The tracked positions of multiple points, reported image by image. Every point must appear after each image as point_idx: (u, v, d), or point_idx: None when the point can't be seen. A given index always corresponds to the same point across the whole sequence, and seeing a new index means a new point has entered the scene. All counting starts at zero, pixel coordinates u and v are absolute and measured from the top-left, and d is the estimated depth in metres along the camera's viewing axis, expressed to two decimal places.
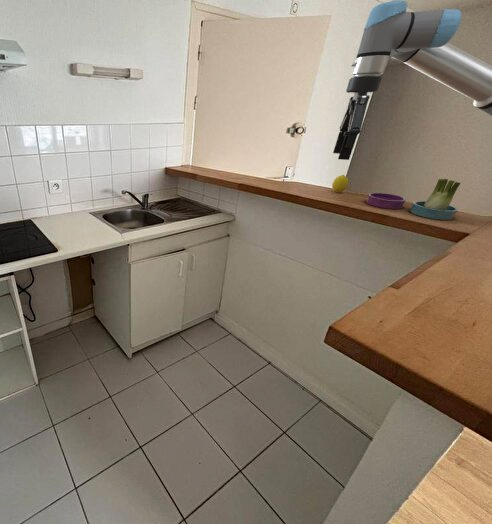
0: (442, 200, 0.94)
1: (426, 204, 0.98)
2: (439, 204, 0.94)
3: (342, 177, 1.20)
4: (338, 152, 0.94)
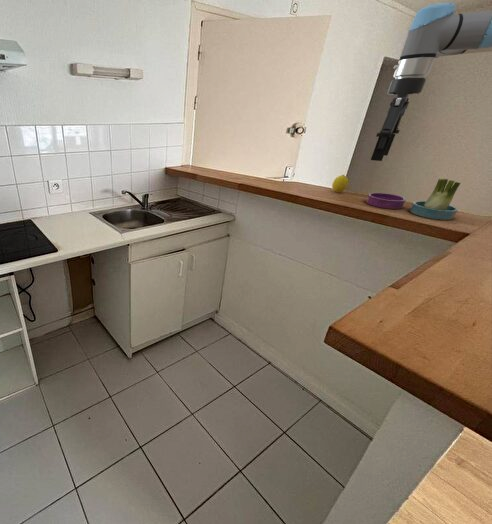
0: (442, 200, 0.94)
1: (426, 204, 0.98)
2: (439, 204, 0.94)
3: (342, 177, 1.20)
4: None
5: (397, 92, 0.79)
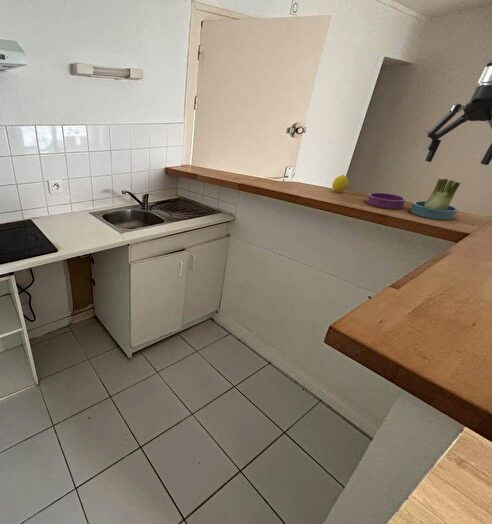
0: (442, 200, 0.94)
1: (426, 204, 0.98)
2: (439, 204, 0.94)
3: (342, 177, 1.20)
4: (483, 163, 0.87)
5: None
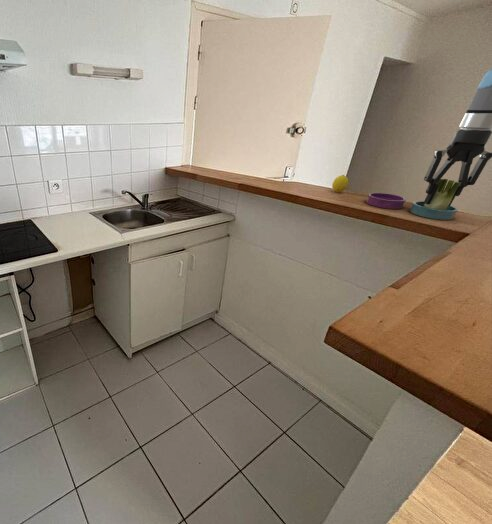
0: (442, 200, 0.94)
1: (426, 204, 0.98)
2: (439, 204, 0.94)
3: (342, 177, 1.20)
4: None
5: None
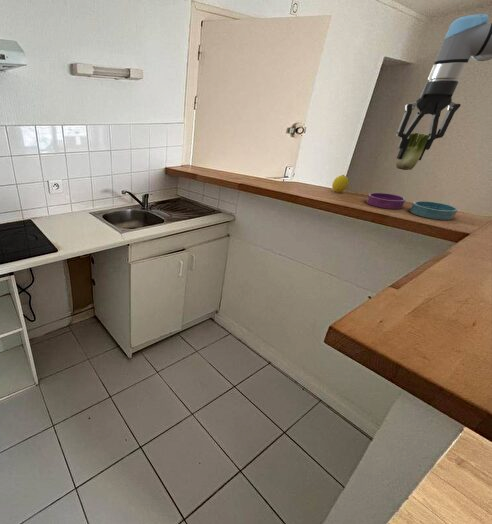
0: (413, 154, 0.97)
1: (398, 160, 1.01)
2: (410, 158, 0.97)
3: (342, 177, 1.20)
4: None
5: (421, 94, 0.92)
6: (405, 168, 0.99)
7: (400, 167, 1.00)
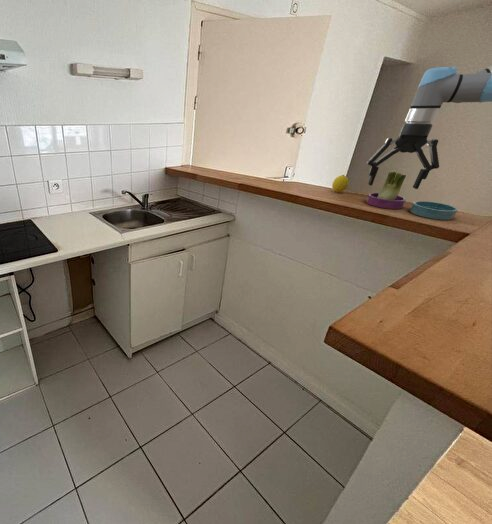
0: (391, 191, 1.04)
1: (379, 195, 1.08)
2: (389, 195, 1.05)
3: (342, 177, 1.20)
4: (414, 187, 1.02)
5: None
6: None
7: None
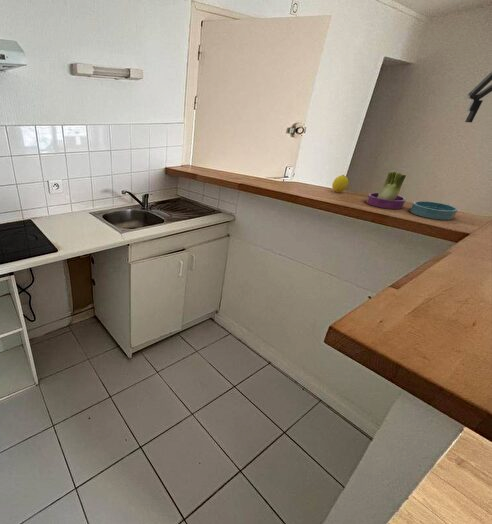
0: (391, 191, 1.04)
1: (379, 195, 1.08)
2: (389, 195, 1.05)
3: (342, 177, 1.20)
4: None
5: None
6: None
7: None
